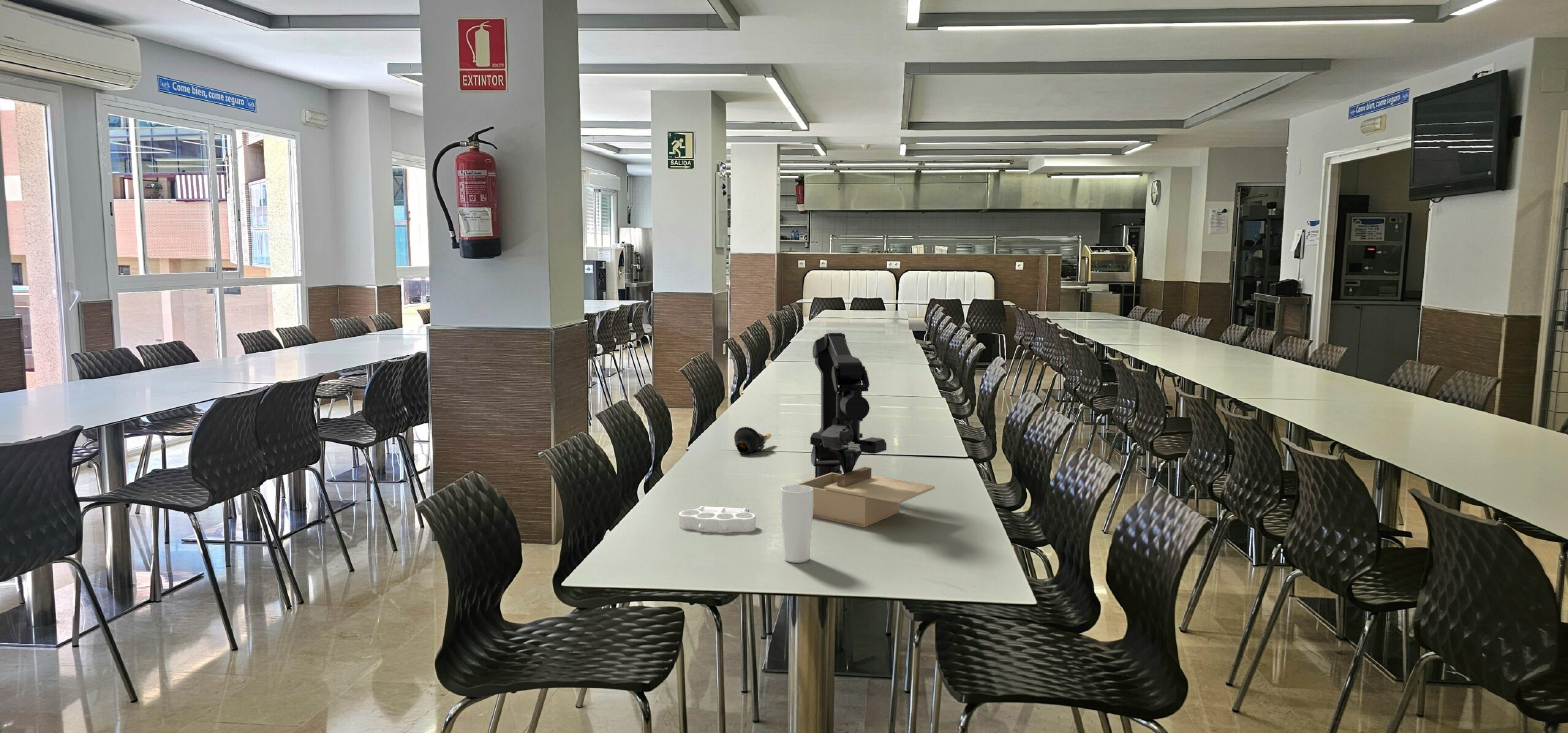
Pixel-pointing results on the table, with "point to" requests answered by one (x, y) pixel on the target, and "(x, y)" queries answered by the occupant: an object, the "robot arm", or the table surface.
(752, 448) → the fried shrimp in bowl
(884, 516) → the mailer box
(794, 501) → the drinking glass
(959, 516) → the table surface
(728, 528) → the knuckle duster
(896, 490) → the mailer lid
